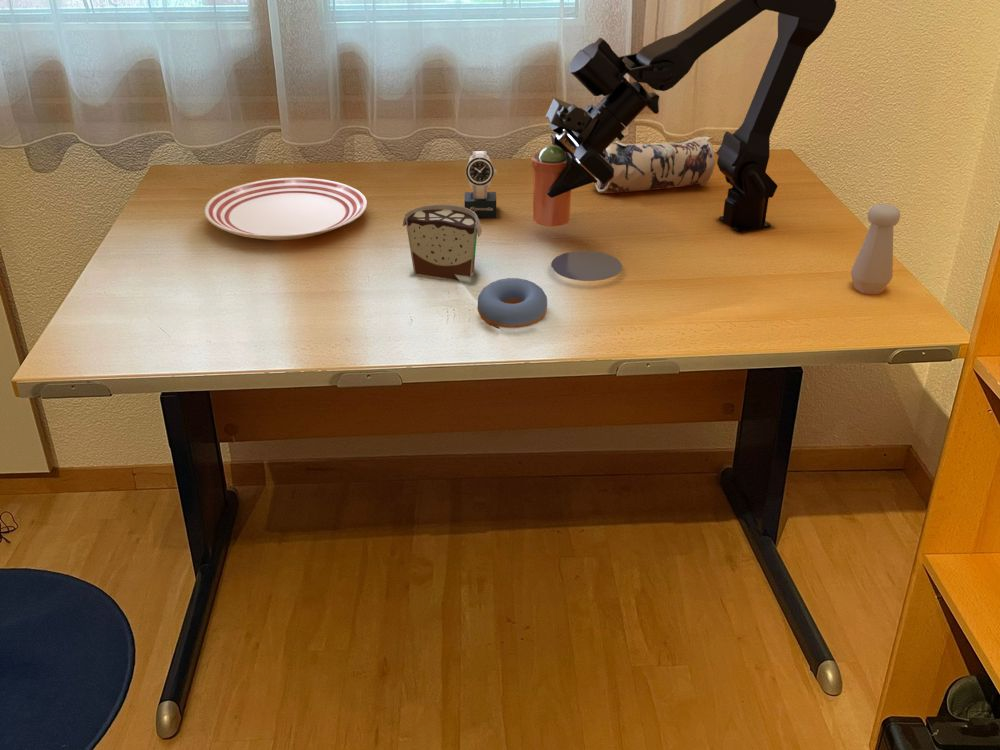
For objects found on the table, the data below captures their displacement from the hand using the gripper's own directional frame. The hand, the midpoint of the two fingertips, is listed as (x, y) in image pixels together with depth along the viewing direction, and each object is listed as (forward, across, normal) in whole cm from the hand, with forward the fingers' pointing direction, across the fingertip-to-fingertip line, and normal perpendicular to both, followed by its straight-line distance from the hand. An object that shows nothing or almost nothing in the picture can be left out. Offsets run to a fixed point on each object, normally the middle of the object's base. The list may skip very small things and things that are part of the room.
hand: (543, 188), depth 157 cm
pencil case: (-11, -20, +25) cm, 34 cm away
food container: (+19, +7, -5) cm, 21 cm away
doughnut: (+14, +24, -1) cm, 28 cm away
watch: (+12, -15, +1) cm, 19 cm away
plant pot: (+3, 0, +5) cm, 6 cm away
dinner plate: (+35, -19, -22) cm, 46 cm away
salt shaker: (-24, +27, +38) cm, 52 cm away
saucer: (+4, +12, +9) cm, 16 cm away
